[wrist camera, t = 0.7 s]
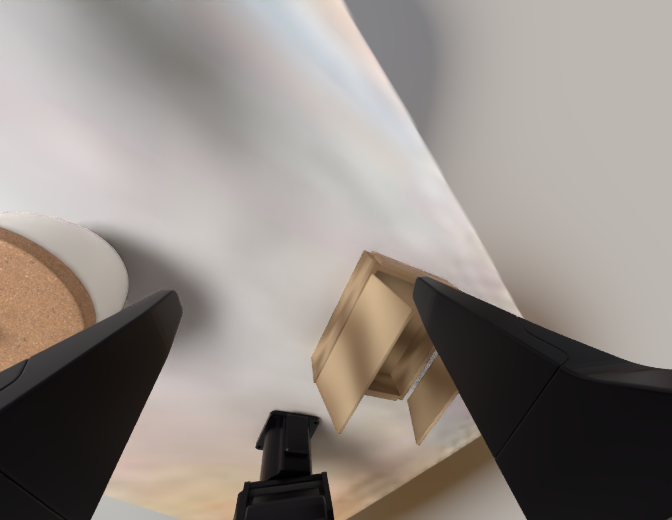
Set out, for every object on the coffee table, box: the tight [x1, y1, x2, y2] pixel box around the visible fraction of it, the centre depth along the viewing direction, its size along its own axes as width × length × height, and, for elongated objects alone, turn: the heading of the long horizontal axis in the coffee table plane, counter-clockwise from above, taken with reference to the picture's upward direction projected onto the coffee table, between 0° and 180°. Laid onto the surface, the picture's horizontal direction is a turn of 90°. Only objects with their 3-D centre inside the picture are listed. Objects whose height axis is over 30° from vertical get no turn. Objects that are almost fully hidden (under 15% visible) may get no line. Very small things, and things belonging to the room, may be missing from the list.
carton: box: [312, 251, 459, 401], centre depth 26 cm, size 15×11×4 cm
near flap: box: [316, 274, 415, 434], centre depth 20 cm, size 12×5×1 cm
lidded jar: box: [0, 212, 128, 372], centre depth 16 cm, size 11×11×9 cm
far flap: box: [407, 354, 459, 445], centre depth 23 cm, size 12×5×1 cm
